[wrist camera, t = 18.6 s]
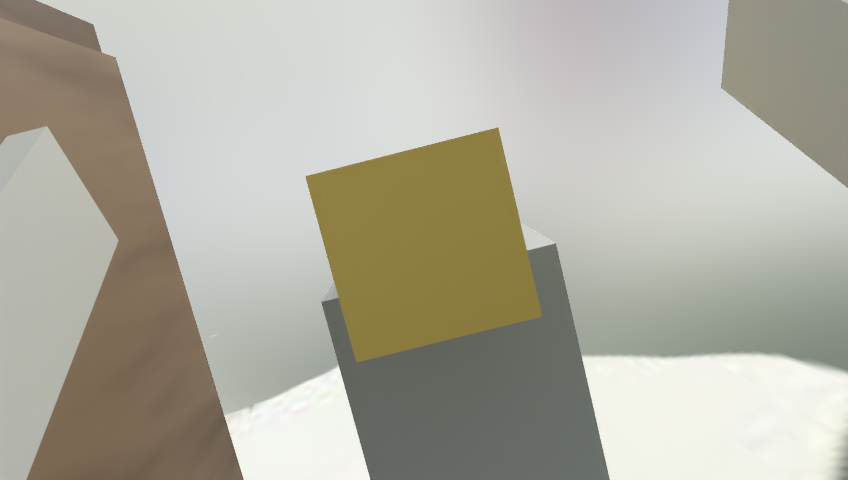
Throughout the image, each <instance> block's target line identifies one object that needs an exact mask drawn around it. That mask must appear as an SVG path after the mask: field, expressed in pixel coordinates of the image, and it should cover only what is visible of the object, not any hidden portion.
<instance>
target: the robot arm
mask: <svg viewBox="0 0 848 480" xmlns="http://www.w3.org/2000/svg"><path fill="white" fill-rule="evenodd" d="M721 88H722V89H723V90H725V91H726V92H727V93H729V94H730V95H731V96H732V97H734V98H735V99H736V100H737V101H739V102H740V103H741V104H742V105H744V106H745V107H746V108H747V109H749V110H750V111H751V112H753V113H754V114H755V115H756V116H758V117H759V118H760V119H761V120H763V121H764V122H765V123H766V124H768V125H769V126H770V127H772V128H773V129H774V130H775V131H777V132H778V133H779V134H780V135H782V136H783V137H784V138H785V139H787V140H788V141H789V142H790V143H792V144H793V145H794V146H796V147H797V148H798V149H799V150H801V151H802V152H803V153H804V154H806V155H807V156H808V157H810V158H811V159H812V160H814V161H815V162H816V163H817V164H818V165H820V166H821V167H822V168H824V169H825V170H826V171H827V172H828V173H830V174H831V175H832V176H834V177H835V178H836V179H837V180H839V181H840V182H841V183H842V184H844V185H845V186H846V187H848V0H729V6H728V17H727V28H726V39H725V50H724V61H723V73H722V84H721ZM118 241H119V240H118V238H117V237H116V235H115V233H114V232H113V230H112V229H111V227H110V226H109V224H108V222H107V221H106V219H105V218H104V216H103V214H102V213H101V211H100V210H99V208H98V206H97V205H96V203H95V202H94V200H93V198H92V197H91V195H90V194H89V192H88V190H87V189H86V187H85V186H84V184H83V182H82V181H81V179H80V178H79V176H78V175H77V173H76V171H75V170H74V168H73V167H72V165H71V163H70V162H69V160H68V159H67V157H66V155H65V154H64V152H63V151H62V149H61V147H60V146H59V144H58V143H57V141H56V139H55V138H54V136H53V135H52V133H51V132H50V130H49V128H48V127H47V126H45V127H41V128H37V129H34V130H30V131H26V132H22V133H18V134H14V135H10V136H7V137H6V138H5V140H4V141H3V142H2V143H1V145H0V480H26V479H27V477H28V474H29V472H30V469H31V466H32V464H33V461H34V459H35V456H36V453H37V451H38V448H39V446H40V443H41V440H42V438H43V435H44V433H45V430H46V428H47V425H48V422H49V420H50V417H51V415H52V412H53V409H54V407H55V404H56V402H57V399H58V396H59V394H60V391H61V389H62V386H63V383H64V381H65V378H66V376H67V373H68V371H69V368H70V365H71V363H72V360H73V358H74V355H75V352H76V350H77V347H78V345H79V342H80V339H81V337H82V334H83V332H84V329H85V326H86V324H87V321H88V319H89V316H90V313H91V311H92V308H93V306H94V303H95V301H96V298H97V295H98V293H99V290H100V288H101V285H102V282H103V280H104V277H105V275H106V272H107V269H108V267H109V264H110V262H111V259H112V256H113V254H114V251H115V249H116V246H117V244H118Z"/></svg>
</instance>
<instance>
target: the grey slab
mask: <svg viewBox="0 0 848 480" xmlns="http://www.w3.org/2000/svg"><path fill="white" fill-rule="evenodd" d="M520 223H521V222H520ZM521 227H522V232H523V236H524V240H525V245H526V249H527V253H528V257H529V262H530V266H531V270H532V274H533V279H534V283H535V287H536V292H537V296H538V300H539V304H540V309H541V313H542V317H538V318H534V319H530V320H526V321H522V322H518V323H514V324H510V325H506V326H502V327H498V328H494V329H490V330H486V331H482V332H478V333H474V334H470V335H465V336H461V337H457V338H453V339H449V340H445V341H441V342H437V343H433V344H429V345H425V346H421V347H417V348H413V349H409V350H405V351H401V352H397V353H393V354H389V355H385V356H380V357H376V358H372V359H368V360H364V361H360V362H356V359H355V356H354V352H353V348H352V345H351V341H350V337H349V334H348V330H347V326H346V323H345V319H344V315H343V312H342V308H341V304H340V301H339V297H338V293H337V290H336V286H335V283H334V284H333V285H332V287H331V288H330V290H329V291H328V293H327V294H326V296H325V297H324V299H323V300H322V306H323V310H324V313H325V316H326V320H327V324H328V327H329V331H330V335H331V338H332V342H333V345H334V349H335V353H336V356H337V360H338V364H339V367H340V371H341V375H342V378H343V382H344V385H345V389H346V393H347V396H348V400H349V403H350V407H351V411H352V414H353V418H354V421H355V425H356V429H357V432H358V436H359V440H360V443H361V447H362V450H363V454H364V458H365V461H366V465H367V468H368V472H369V476H370V479H371V480H610V479H609V475H608V470H607V466H606V462H605V457H604V453H603V448H602V444H601V440H600V435H599V431H598V427H597V422H596V418H595V413H594V409H593V405H592V400H591V396H590V391H589V387H588V383H587V378H586V374H585V369H584V365H583V361H582V356H581V352H580V348H579V343H578V339H577V334H576V330H575V326H574V321H573V317H572V312H571V308H570V304H569V299H568V295H567V291H566V286H565V282H564V277H563V273H562V268H561V264H560V260H559V256H558V251H557V247H556V243H554V242H553V241H551V240H549V239H548V238H546V237H544V236H542V235H541V234H539V233H538V232H536V231H534V230H532V229H531V228H529V227H527V226H526V225H524V224H522V223H521Z"/></svg>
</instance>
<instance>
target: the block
mask: <svg viewBox="0 0 848 480" xmlns="http://www.w3.org/2000/svg"><path fill="white" fill-rule="evenodd" d="M306 180H307V184H308V187H309V191H310V195H311V198H312V202H313V206H314V209H315V213H316V217H317V220H318V224H319V227H320V231H321V235H322V238H323V242H324V246H325V249H326V253H327V257H328V260H329V264H330V268H331V271H332V275H333V279H334V283H335V286H336V290H337V293H338V297H339V301H340V304H341V308H342V312H343V315H344V319H345V323H346V326H347V330H348V334H349V337H350V341H351V345H352V348H353V352H354V356H355V359H356V362H360V361H364V360H368V359H372V358H376V357H380V356H385V355H389V354H393V353H397V352H401V351H405V350H409V349H413V348H417V347H421V346H425V345H429V344H433V343H437V342H441V341H445V340H449V339H453V338H457V337H461V336H465V335H470V334H474V333H478V332H482V331H486V330H490V329H494V328H498V327H502V326H506V325H510V324H514V323H518V322H522V321H526V320H530V319H534V318H538V317H542V313H541V309H540V304H539V300H538V296H537V292H536V287H535V283H534V279H533V274H532V270H531V266H530V262H529V257H528V253H527V249H526V245H525V240H524V236H523V232H522V227H521V223H520V219H519V215H518V210H517V207H516V202H515V197H514V193H513V189H512V185H511V181H510V176H509V172H508V168H507V163H506V159H505V155H504V151H503V146H502V142H501V138H500V133H499V129H498V128H495V129H490V130H486V131H483V132H478V133H475V134H471V135H467V136H463V137H459V138H455V139H451V140H447V141H443V142H439V143H435V144H431V145H427V146H423V147H419V148H415V149H412V150H408V151H404V152H400V153H396V154H392V155H388V156H384V157H380V158H376V159H372V160H368V161H364V162H360V163H356V164H353V165H349V166H345V167H341V168H337V169H333V170H329V171H325V172H322V173H317V174H313V175H309V176H306Z"/></svg>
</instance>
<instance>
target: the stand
mask: <svg viewBox="0 0 848 480" xmlns="http://www.w3.org/2000/svg"><path fill="white" fill-rule="evenodd" d="M45 126H47V127H48V128H49V130H50V132H51V133H52V135H53V136H54V138H55V139H56V141H57V143H58V144H59V146H60V147H61V149H62V151H63V152H64V154H65V155H66V157H67V159H68V160H69V162H70V163H71V165H72V167H73V168H74V170H75V171H76V173H77V175H78V176H79V178H80V179H81V181H82V182H83V184H84V186H85V187H86V189H87V190H88V192H89V194H90V195H91V197H92V198H93V200H94V202H95V203H96V205H97V206H98V208H99V210H100V211H101V213H102V214H103V216H104V218H105V219H106V221H107V222H108V224H109V226H110V227H111V229H112V230H113V232H114V233H115V235H116V237H117V238H118V240H119V241H118V244H117V246H116V249H115V251H114V254H113V256H112V259H111V262H110V264H109V267H108V269H107V272H106V275H105V277H104V280H103V282H102V285H101V288H100V290H99V293H98V295H97V298H96V301H95V303H94V306H93V308H92V311H91V313H90V316H89V319H88V321H87V324H86V326H85V329H84V332H83V334H82V337H81V339H80V342H79V345H78V347H77V350H76V352H75V355H74V358H73V360H72V363H71V365H70V368H69V371H68V373H67V376H66V378H65V381H64V383H63V386H62V389H61V391H60V394H59V396H58V399H57V402H56V404H55V407H54V409H53V412H52V415H51V417H50V420H49V422H48V425H47V428H46V430H45V433H44V435H43V438H42V440H41V443H40V446H39V448H38V451H37V453H36V456H35V459H34V461H33V464H32V466H31V469H30V472H29V474H28V477H27V479H26V480H243V476H242V473H241V470H240V466H239V463H238V460H237V457H236V453H235V450H234V447H233V443H232V440H231V437H230V433H229V430H228V427H227V424H226V420H225V417H224V414H223V410H222V407H221V404H220V400H219V397H218V394H217V391H216V387H215V384H214V381H213V377H212V374H211V371H210V367H209V364H208V361H207V358H206V354H205V351H204V348H203V344H202V341H201V338H200V334H199V331H198V328H197V325H196V321H195V318H194V315H193V311H192V308H191V305H190V302H189V298H188V295H187V292H186V289H185V285H184V282H183V278H182V275H181V272H180V268H179V265H178V262H177V259H176V255H175V252H174V249H173V245H172V242H171V239H170V235H169V232H168V229H167V226H166V222H165V219H164V216H163V213H162V210H161V206H160V203H159V199H158V196H157V193H156V190H155V186H154V183H153V180H152V176H151V173H150V169H149V166H148V163H147V160H146V156H145V153H144V150H143V146H142V143H141V140H140V136H139V133H138V130H137V127H136V123H135V120H134V117H133V113H132V110H131V107H130V103H129V100H128V97H127V94H126V90H125V87H124V84H123V81H122V77H121V74H120V70H119V67H118V64H117V61H116V57H113V56H110V55H107V54H104V53H102V52H101V49H100V45H99V42H98V39H97V36H96V32H95V29H94V26H93V24H90V23H88V22H86V21H83V20H81V19H79V18H76V17H74V16H71V15H69V14H67V13H64V12H62V11H59V10H57V9H55V8H52V7H50V6H48V5H45V4H42V3H40V2H38V1H36V0H0V145H1V143H2V142H3V141H4V140H5V138H6V137H7V136H10V135H14V134H18V133H22V132H26V131H30V130H34V129H37V128H41V127H45Z"/></svg>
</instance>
